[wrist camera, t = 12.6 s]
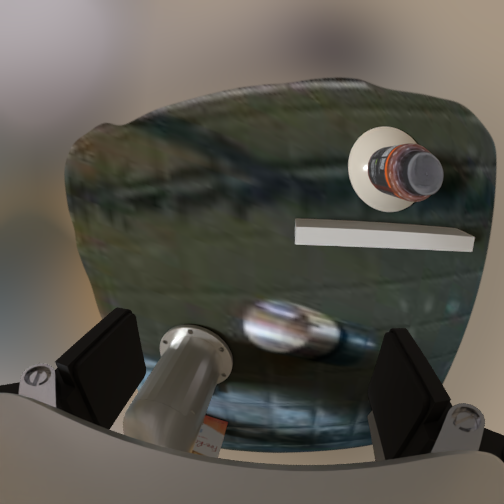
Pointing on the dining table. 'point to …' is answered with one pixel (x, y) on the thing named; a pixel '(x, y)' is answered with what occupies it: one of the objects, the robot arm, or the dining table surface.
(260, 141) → the dining table surface
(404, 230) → the low wall
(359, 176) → the resting pad
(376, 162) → the supplement bottle
